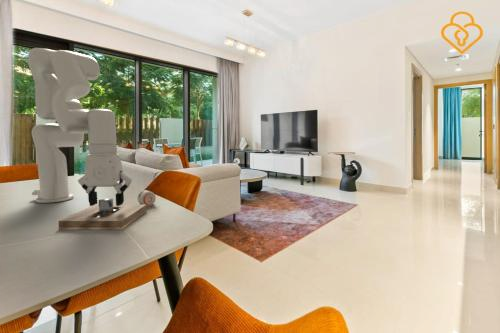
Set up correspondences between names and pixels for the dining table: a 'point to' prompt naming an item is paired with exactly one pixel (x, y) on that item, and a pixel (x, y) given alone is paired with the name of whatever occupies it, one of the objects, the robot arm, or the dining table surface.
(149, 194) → the roller toy
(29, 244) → the dining table surface
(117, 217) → the socket plate
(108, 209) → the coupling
